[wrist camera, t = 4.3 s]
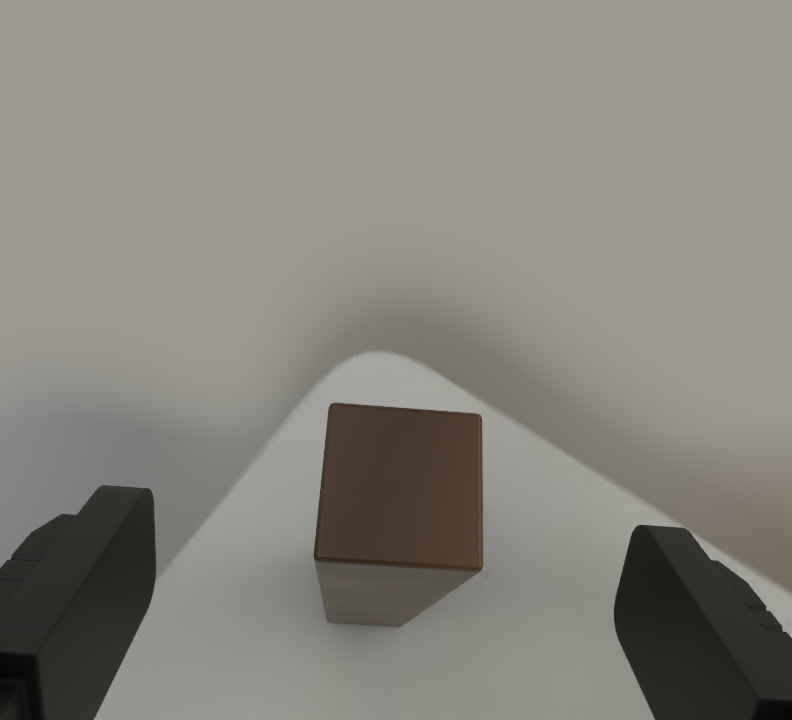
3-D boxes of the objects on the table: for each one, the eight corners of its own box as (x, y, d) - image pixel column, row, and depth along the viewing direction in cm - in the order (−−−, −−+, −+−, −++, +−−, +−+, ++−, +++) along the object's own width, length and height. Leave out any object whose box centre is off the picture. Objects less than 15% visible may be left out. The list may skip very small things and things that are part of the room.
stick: (326, 622, 21) (312, 560, 9) (333, 545, 22) (329, 400, 10) (402, 627, 21) (484, 571, 9) (405, 549, 22) (483, 412, 10)
